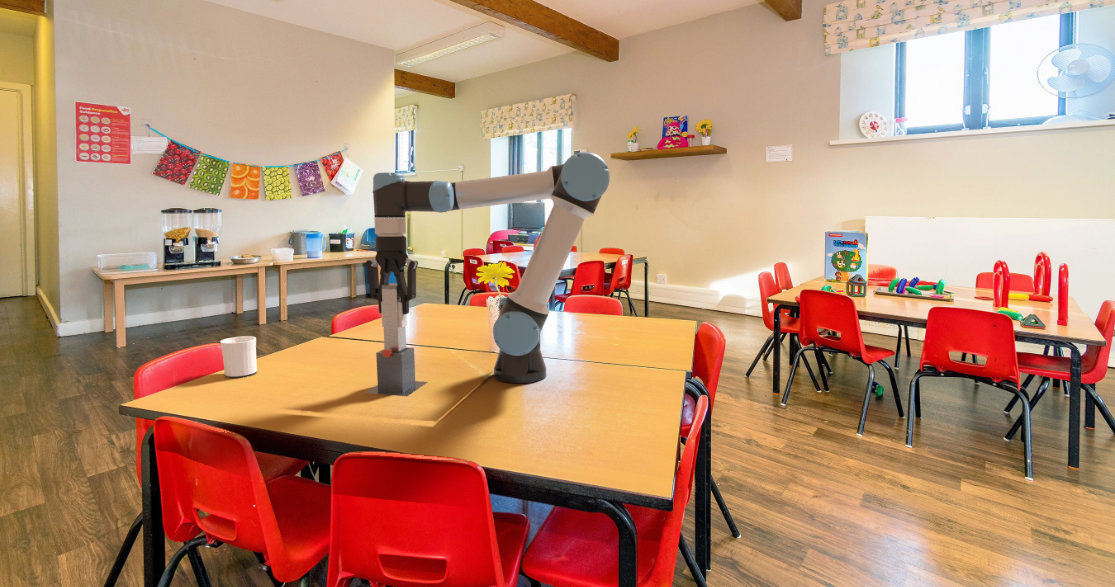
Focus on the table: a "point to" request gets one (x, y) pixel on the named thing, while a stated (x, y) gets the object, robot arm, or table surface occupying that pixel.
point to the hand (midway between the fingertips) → (394, 325)
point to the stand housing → (396, 373)
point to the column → (392, 319)
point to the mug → (239, 356)
